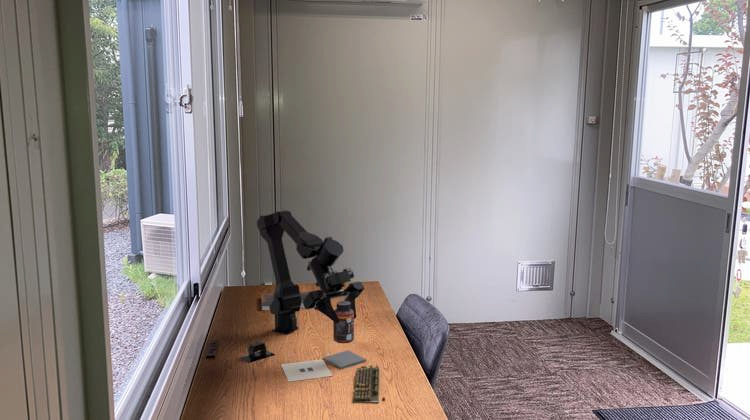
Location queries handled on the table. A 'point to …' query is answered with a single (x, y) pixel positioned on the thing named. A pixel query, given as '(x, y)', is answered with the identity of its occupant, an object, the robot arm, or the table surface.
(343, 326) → the supplement bottle
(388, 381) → the table surface
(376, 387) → the keyboard
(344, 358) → the slate coaster
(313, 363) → the card
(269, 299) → the picture frame
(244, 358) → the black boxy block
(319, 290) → the robot arm
